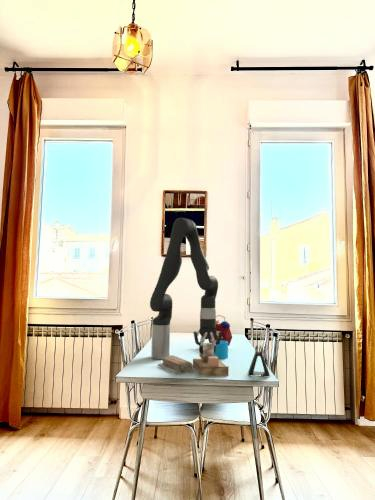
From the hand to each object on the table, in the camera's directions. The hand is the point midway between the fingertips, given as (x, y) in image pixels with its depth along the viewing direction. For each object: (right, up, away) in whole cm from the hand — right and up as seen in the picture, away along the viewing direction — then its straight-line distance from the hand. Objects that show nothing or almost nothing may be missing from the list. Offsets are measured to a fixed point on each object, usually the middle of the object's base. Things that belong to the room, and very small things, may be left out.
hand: (207, 353), depth 159 cm
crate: (+2, -2, -11) cm, 11 cm away
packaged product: (-15, -7, -3) cm, 16 cm away
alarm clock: (+9, -11, +44) cm, 46 cm away
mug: (+9, -9, +23) cm, 26 cm away
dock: (+1, -6, -5) cm, 8 cm away
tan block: (0, -2, 0) cm, 2 cm away
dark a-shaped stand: (+22, -6, -11) cm, 25 cm away
